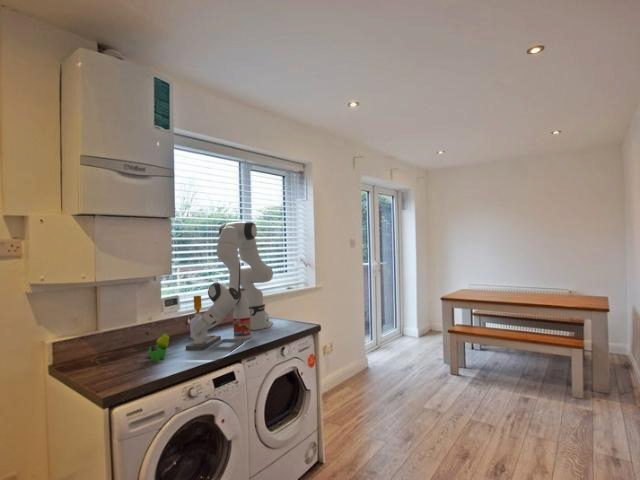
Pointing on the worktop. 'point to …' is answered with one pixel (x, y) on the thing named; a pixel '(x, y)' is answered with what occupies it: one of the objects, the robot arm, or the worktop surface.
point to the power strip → (209, 342)
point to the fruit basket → (159, 348)
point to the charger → (200, 338)
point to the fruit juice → (242, 318)
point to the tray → (213, 347)
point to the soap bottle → (196, 314)
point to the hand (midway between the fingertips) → (198, 334)
